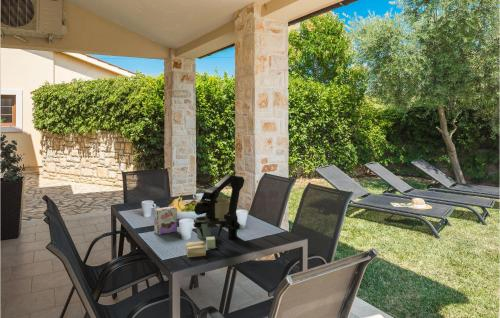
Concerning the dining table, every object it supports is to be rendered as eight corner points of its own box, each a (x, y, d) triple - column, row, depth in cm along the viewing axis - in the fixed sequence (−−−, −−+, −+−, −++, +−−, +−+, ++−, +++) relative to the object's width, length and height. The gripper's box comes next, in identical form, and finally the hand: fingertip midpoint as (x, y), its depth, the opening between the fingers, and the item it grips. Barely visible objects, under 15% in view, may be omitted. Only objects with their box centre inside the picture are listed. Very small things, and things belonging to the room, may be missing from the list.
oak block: (186, 250, 196) (185, 242, 195) (203, 249, 198) (203, 241, 198) (187, 257, 186) (187, 248, 185) (205, 255, 189) (205, 247, 188)
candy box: (157, 235, 221) (157, 210, 219) (154, 233, 226) (153, 208, 224) (177, 231, 229) (177, 207, 227) (173, 229, 234) (173, 205, 232)
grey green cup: (208, 239, 214) (208, 221, 212) (193, 238, 216) (193, 219, 214) (213, 234, 223) (213, 216, 222) (198, 233, 225) (198, 215, 224)
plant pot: (219, 225, 242) (219, 203, 240) (205, 221, 252) (205, 200, 250) (234, 221, 253) (234, 200, 251) (220, 217, 263) (220, 197, 261)
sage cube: (206, 245, 205) (205, 237, 204) (214, 244, 206) (214, 236, 205) (206, 248, 200) (206, 239, 199) (215, 247, 201) (215, 239, 200)
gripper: (194, 215, 191) (195, 243, 192) (228, 214, 194) (228, 240, 196) (194, 210, 202) (194, 236, 203) (225, 209, 205) (225, 234, 207)
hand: (210, 237), depth 202 cm, fingers open, 9 cm apart
